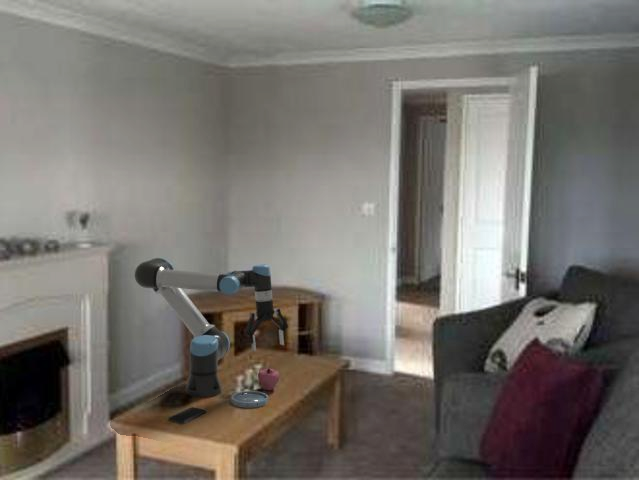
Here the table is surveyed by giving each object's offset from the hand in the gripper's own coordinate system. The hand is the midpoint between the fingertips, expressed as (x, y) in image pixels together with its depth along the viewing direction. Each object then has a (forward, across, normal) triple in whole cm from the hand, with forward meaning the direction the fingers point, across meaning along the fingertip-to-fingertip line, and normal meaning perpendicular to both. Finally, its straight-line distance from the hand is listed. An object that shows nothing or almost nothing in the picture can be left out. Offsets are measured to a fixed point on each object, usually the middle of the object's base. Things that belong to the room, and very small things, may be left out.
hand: (268, 347), depth 298 cm
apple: (+18, -3, -2) cm, 18 cm away
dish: (+18, -16, -13) cm, 27 cm away
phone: (+16, -44, -18) cm, 51 cm away
